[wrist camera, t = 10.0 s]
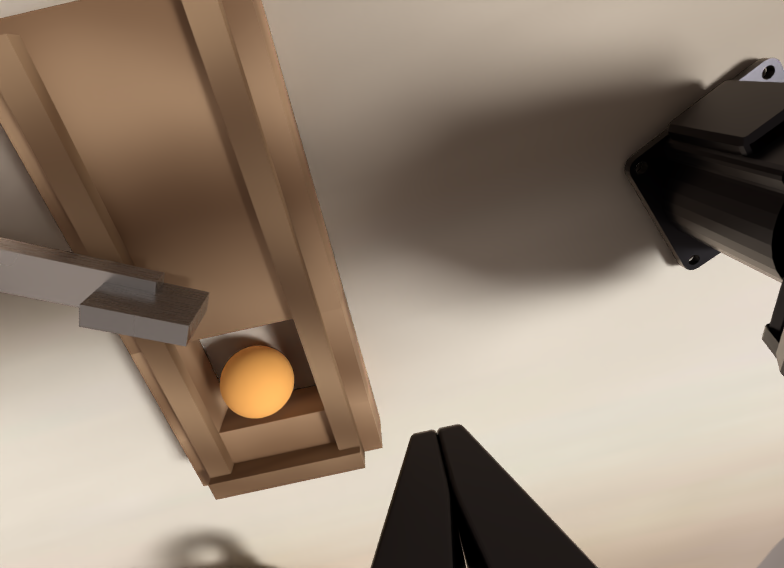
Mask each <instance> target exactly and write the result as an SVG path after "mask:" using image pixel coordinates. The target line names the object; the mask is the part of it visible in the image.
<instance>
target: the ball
mask: <svg viewBox="0 0 784 568" xmlns="http://www.w3.org/2000/svg"><path fill="white" fill-rule="evenodd" d="M293 387H294V373H293V369H292V367H291V364H290V363H289V361H288V360H287V358H286V357H285V356H284V355H283V354H282V353H280V352H279V351H277V350H276V349H274V348H271V347H267V346H251V347H247V348H244V349H242V350H240V351H239V352H237V353H236V354H234V355H233V356H232V357H231V358H230V359H229V360H228V362H227V363H226V364H225V366H224V368H223V370H222V373H221V377H220V392H221V395H222V398H223V400H224V402H225V403H226V405H227V406H228V407H229V408H230V409H231V410H232V411H233V412H235V413H236V414H238V415H240V416H243V417H246V418H263V417H267V416H270V415H272V414H274V413H275V412H277V411H278V410H280V409H281V408H282V407H283V406H284V405H285V404H286V402H287V401H288V399H289V398H290V396H291V393H292V391H293Z"/></svg>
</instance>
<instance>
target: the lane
mask: <svg viewBox="0 0 784 568" xmlns="http://www.w3.org/2000/svg"><path fill="white" fill-rule="evenodd" d="M0 123H1V125H2V126H3V128H4V130H5V132H6V134H7V135H8V137H9V139H10V141H11V143H12V144H13V146H14V148H15V150H16V152H17V153H18V155H19V157H20V159H21V160H22V162H23V164H24V166H25V168H26V169H27V171H28V173H29V175H30V177H31V178H32V180H33V182H34V184H35V185H36V187H37V189H38V191H39V193H40V194H41V196H42V198H43V200H44V202H45V203H46V205H47V207H48V209H49V210H50V212H51V214H52V216H53V218H54V219H55V221H56V223H57V225H58V227H59V228H60V230H61V232H62V234H63V235H64V237H65V239H66V241H67V243H68V244H69V246H70V248H71V250H72V252H73V253H76V254H81V255H85V256H90V257H95V258H99V259H104V260H109V261H113V262H118V263H122V264H127V265H132V266H136V267H141V268H146V269H150V270H155V271H159V272H164V273H165V274H164V283H169V284H173V285H178V286H183V287H187V288H192V289H197V290H202V291H206V292H210V294H209V301H208V307H207V312H206V313H205V315H204V317H203V319H202V320H201V322H200V324H199V325H198V327H197V329H196V331H195V332H194V334H193V336H192V337H191V339H190V341H189V343H188V344H187V346H180V345H175V344H170V343H164V342H159V341H154V340H149V339H143V338H138V337H133V336H127V335H122V334H119V336H120V337H121V339H122V341H123V343H124V344H125V346H126V348H127V350H128V352H129V353H130V355H131V357H132V359H133V361H134V362H135V364H136V366H137V368H138V369H139V371H140V373H141V375H142V377H143V378H144V380H145V382H146V384H147V386H148V387H149V389H150V391H151V393H152V395H153V396H154V398H155V400H156V402H157V403H158V405H159V407H160V409H161V411H162V412H163V414H164V416H165V418H166V420H167V421H168V423H169V425H170V427H171V428H172V430H173V432H174V434H175V436H176V437H177V439H178V441H179V443H180V445H181V446H182V448H183V450H184V452H185V453H186V455H187V457H188V459H189V461H190V462H191V464H192V466H193V468H194V470H195V471H196V473H197V475H198V477H199V478H200V480H201V482H202V484H203V486H207V485H208V486H209V488H210V490H211V491H212V493H213V495H214V497H215V499H216V500H217V499H222V498H227V497H231V496H236V495H240V494H245V493H250V492H254V491H259V490H264V489H268V488H273V487H278V486H282V485H287V484H292V483H296V482H301V481H306V480H310V479H315V478H320V477H324V476H329V475H334V474H338V473H343V472H348V471H352V470H357V469H362V468H365V451H369V450H374V449H379V448H382V436H381V424H380V417H379V414H378V410H377V407H376V403H375V399H374V396H373V392H372V389H371V385H370V382H369V378H368V375H367V371H366V368H365V364H364V361H363V357H362V354H361V350H360V347H359V343H358V340H357V336H356V332H355V329H354V325H353V322H352V318H351V315H350V311H349V308H348V304H347V301H346V297H345V294H344V290H343V287H342V283H341V280H340V276H339V272H338V269H337V265H336V262H335V258H334V255H333V251H332V248H331V244H330V241H329V237H328V234H327V230H326V227H325V223H324V220H323V216H322V212H321V209H320V205H319V202H318V198H317V195H316V191H315V188H314V184H313V181H312V177H311V174H310V170H309V167H308V163H307V160H306V156H305V152H304V149H303V145H302V142H301V138H300V135H299V131H298V128H297V124H296V121H295V117H294V114H293V110H292V107H291V103H290V100H289V96H288V93H287V89H286V85H285V82H284V78H283V75H282V71H281V68H280V64H279V61H278V57H277V54H276V50H275V47H274V43H273V40H272V36H271V33H270V29H269V25H268V22H267V18H266V15H265V11H264V8H263V4H262V1H261V0H78V1H73V2H69V3H65V4H61V5H56V6H52V7H48V8H43V9H39V10H35V11H30V12H26V13H22V14H18V15H13V16H9V17H5V18H0ZM290 319H293V320H294V323H295V326H296V329H297V332H298V335H299V337H300V340H301V343H302V346H303V349H304V352H305V355H306V357H307V360H308V363H309V366H310V369H311V372H312V375H313V377H314V380H315V383H316V386H311V387H307V388H302V389H298V390H293V391H292V393H291V396H290V398H289V399H288V401H287V402H286V404H285V405H284V406H283V407H282V408H281V409H280V410H278V411H277V412H275V413H274V414H272V415H270V416H267V417H263V418H246V417H243V416H240V415H238V414H236V413H235V412H233V411H232V410H231V409H230V408H229V407H228V406H227V405H226V403H225V402H224V400H223V398H222V395H221V392H220V384H219V381H218V379H217V377H216V375H215V373H214V371H213V369H212V367H211V364H210V362H209V360H208V358H207V356H206V354H205V352H204V349H203V347H202V345H201V343H200V341H199V339H204V338H208V337H213V336H217V335H222V334H226V333H231V332H236V331H240V330H245V329H249V328H254V327H258V326H263V325H267V324H272V323H276V322H281V321H286V320H290Z"/></svg>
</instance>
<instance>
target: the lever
mask: <svg viewBox="0 0 784 568" xmlns="http://www.w3.org/2000/svg"><path fill="white" fill-rule="evenodd" d="M164 274H165V273H164V272H159V271H155V270H150V269H146V268H141V267H136V266H132V265H127V264H122V263H118V262H113V261H109V260H104V259H99V258H95V257H90V256H85V255H81V254H76V253H72V252H67V251H62V250H58V249H53V248H48V247H44V246H39V245H34V244H30V243H25V242H21V241H16V240H11V239H7V238H2V237H0V292H2V293H7V294H12V295H17V296H22V297H28V298H33V299H38V300H43V301H48V302H53V303H58V304H63V305H69V306H74V307H79V327H85V328H90V329H95V330H101V331H106V332H111V333H117V334H122V335H127V336H133V337H138V338H143V339H149V340H154V341H159V342H164V343H170V344H175V345H180V346H187V344H188V343H189V341H190V339H191V337H192V336H193V334H194V332H195V331H196V329H197V327H198V325H199V324H200V322H201V320H202V319H203V317H204V315H205V313H206V312H207V307H208V301H209V294H210V292H206V291H202V290H197V289H192V288H187V287H183V286H178V285H173V284H169V283H164Z"/></svg>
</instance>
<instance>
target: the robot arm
mask: <svg viewBox="0 0 784 568" xmlns="http://www.w3.org/2000/svg"><path fill="white" fill-rule="evenodd" d="M765 68H766V69H767V71H766V74H765V76H764V77H763V78H762V72H763V70H764V69H765ZM640 162H642V167H641V169H640V170H639V171H637V172H636V170H635V169H636V166H637V165H638V163H640ZM624 170H625V174H626V175H627V177H628V179H629V181H630V182H631V184H632V186H633V187H634V189H635V191H636V192H637V194H638V196H639V197H640V199H641V201H642V202H643V204H644V206H645V208H646V209H647V211H648V213H649V214H650V216H651V218H652V219H653V221H654V223H655V224H656V226H657V228H658V229H659V231H660V233H661V235H662V236H663V238H664V240H665V241H666V243H667V245H668V246H669V248H670V250H671V251H672V253H673V255H674V256H675V258H676V260H677V262H678V263H679V264H680V265H681V266H682V267H684V268H686V269H688V270H694V269H696V268H698V267H700V266H701V265H703V264H704V263H706V262H707V261H709V260H710V259H712V258H713V257H715V256H716V255H718V254H719V253H721V252H722V253H724V254H726V255H727V256H729V257H731V258H733V259H735V260H737V261H739V262H741V263H743V264H745V265H747V266H749V267H751V268H753V269H755V270H757V271H759V272H761V273H763V274H765V275H767V276H769V277H771V278H773V279H775V280H777V281H779V282H781V283H782V284H781V288H780V291H779V294H778V298H777V301H776V305H775V308H774V311H773V315H772V318H771V322H770V324H766V326H765V329H764V333H763V336H762V340H763V341H764V342H765V344H766V345H767V346H768V348H769V349H770V350H771V352H772V353H773V354H774V356H775V357H776V358H777V361H778V365H779V370H780V372H781V374H782V375H783V376H784V70H783V67H782V64H781V62H780V61H779V60H778V59H776V58H762V59H759V60H757V61H756V62H754V63H753V64H752V65H750V66H749V67H748V68H746V69H745V70H744V71H743V72H741V73H740V74H739V75H737V76H736V77H735V78H733V79H732V80H726V81H724V82H722V83H721V84H720V85H719V86H717V87H716V88H715V89H713V90H712V91H711V92H709V93H708V94H707V95H706V96H704V97H703V98H702V99H700V100H699V101H698V102H696V103H695V104H694V105H692V106H691V107H690V108H689V109H687V110H686V111H685V112H683V113H682V114H681V115H679V116H678V117H677V118H675V119H674V120H673V121H672V122H670V124H669V126H668V128H667V130H665V131H664V132H663V133H661V134H660V135H659V136H657V137H656V138H655V139H653V140H652V141H651V142H650V143H648V144H647V145H646V146H644V147H643V148H642V149H640V150H639V151H638V152H636V153H635V154H634V155H632V156H631V157H630V158H629V159H628V160H627V162H626V164H625V168H624ZM693 255H694V257H693V259H692V260H691V261H689V259H690V258H691V257H692V256H693ZM462 548H463V549H462ZM463 552H464V554H463ZM464 557H465V559H464ZM465 561H466V564H467V568H598V567H597V566H596V565H595V564H594V563H593V562H592V561H591V560H590V559H589V558H588V557H587V556H586V554H585V553H584V552H583V551H582V550H581V549H580V548H579V547H578V546H577V545H576V544H575V543H574V542H573V541H572V540H571V539H570V538H569V537H568V536H567V535H566V534H565V532H564V531H563V530H562V529H561V528H560V527H559V526H558V525H557V524H556V523H555V522H554V521H553V520H552V519H551V518H550V517H549V516H548V515H547V514H546V513H545V511H544V510H543V509H542V508H541V507H540V506H539V505H538V504H537V503H536V502H535V501H534V500H533V499H532V498H531V497H530V496H529V495H528V494H527V493H526V492H525V491H524V489H523V488H522V487H521V486H520V485H519V484H518V483H517V482H516V481H515V480H514V479H513V478H512V477H511V476H510V475H509V474H508V473H507V472H506V471H505V470H504V468H503V467H502V466H501V465H500V464H499V463H498V462H497V461H496V460H495V459H494V458H493V457H492V456H491V455H490V454H489V453H488V452H487V451H486V450H485V449H484V448H483V446H482V445H481V444H480V443H479V442H478V441H477V440H476V439H475V438H474V437H473V436H472V435H471V434H470V433H469V432H468V431H467V430H466V429H465V428H464V427H463V426H462V425H460V424H456V425H452V426H447V427H442V428H439V429H438V431H437V432H436V431H435V430H428V431H423V432H419V433H414V434H413V435H412V436H411V438H410V441H409V444H408V447H407V451H406V454H405V457H404V461H403V464H402V467H401V470H400V474H399V477H398V480H397V483H396V487H395V490H394V493H393V496H392V500H391V503H390V506H389V509H388V513H387V516H386V519H385V523H384V526H383V529H382V532H381V536H380V539H379V542H378V545H377V549H376V552H375V555H374V558H373V562H372V565H371V568H466V564H465Z"/></svg>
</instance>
